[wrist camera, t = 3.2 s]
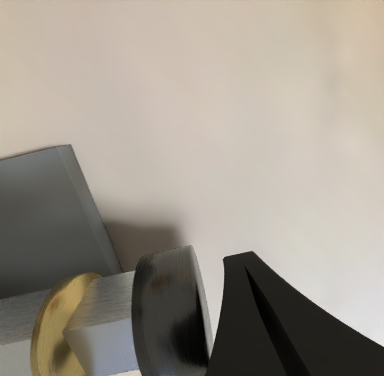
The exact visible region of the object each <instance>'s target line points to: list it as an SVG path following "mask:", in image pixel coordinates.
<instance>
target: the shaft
mask: <svg viewBox="0 0 384 376" xmlns="http://www.w3.org/2000/svg"><path fill="white" fill-rule="evenodd" d="M212 349H213V338H212V330H211V324H210V318H209V312H208V306H207V301H206V296H205V291H204V286H203V281H202V277H201V273H200V269H199V265H198V261H197V258H196V254H195V252H194V249H193V247H192V246H191V245H189V246H184V247H180V248H175V249H171V250H166V251H162V252H157V253H153V254H148V255H144V256H143V257H142V258H141V259H140V260H139V262H138V264H137V267H136V270H134V271H130V272H125V273H121V274H116V275H111V276H107V277H102V276H100V275H99V274H97V273H94V272H89V273H84V274H80V275H75V276H71V277H67V278H65V279H63V280H62V281H60V282H59V283H58V284H57V285H55V287H54V288H52V289H47V290H43V291H38V292H33V293H29V294H24V295H20V296H15V297H10V298H6V299H1V300H0V376H108V375H113V374H118V373H123V372H128V371H133V370H138V369H140V372H141V375H142V376H205V374H206V371H207V367H208V363H209V360H210V356H211V353H212Z"/></svg>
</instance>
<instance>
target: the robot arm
mask: <svg viewBox="0 0 384 376" xmlns="http://www.w3.org/2000/svg"><path fill="white" fill-rule="evenodd" d="M223 263H224V289H223V299H222V306H221V312H220V318H219V323H218V328H217V333H216V337H215V341H214V345H213V349H212V353H211V356H210V360H209V363H208V367H207V371H206V374H205V376H384V347H383V346H381V345H379V344H378V343H376V342H374V341H372V340H371V339H369V338H367V337H365V336H364V335H362V334H360V333H359V332H357V331H356V330H354V329H352V328H351V327H349V326H348V325H346V324H344V323H343V322H341V321H340V320H338V319H337V318H335V317H334V316H332V315H331V314H329V313H328V312H326V311H325V310H323V309H322V308H320V307H319V306H318V305H316V304H315V303H313V302H312V301H311V300H309V299H308V298H307V297H305V296H304V295H303V294H301V293H300V292H299V291H297V290H296V289H295V288H294V287H292V286H291V285H290V284H289V283H287V282H286V281H285V280H284V279H283V278H281V277H280V276H279V275H278V274H277V273H276V272H274V271H273V270H272V269H271V268H270V267H269V266H268V265H267V264H266V263H265V262H263V261H262V260H261V259H260V258H259V257H258V256H257V255H256V254H255V253H254V252H253V251H250V252H245V253H240V254H236V255H231V256H227V257H224V259H223Z"/></svg>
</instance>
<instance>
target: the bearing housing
mask: <svg viewBox="0 0 384 376" xmlns="http://www.w3.org/2000/svg"><path fill="white" fill-rule="evenodd" d="M89 272H94V273H97V274H99V275H100V276H102V277H107V276H111V275H116V274H121V273H123V271H122V268H121V266H120V263H119V261H118V258H117V256H116V254H115V251H114V249H113V246H112V244H111V241H110V239H109V236H108V234H107V232H106V229H105V227H104V224H103V222H102V219H101V217H100V215H99V212H98V210H97V207H96V205H95V202H94V200H93V197H92V195H91V193H90V190H89V188H88V185H87V183H86V180H85V178H84V176H83V173H82V171H81V168H80V166H79V163H78V161H77V158H76V156H75V154H74V151H73V149H72V146H71V144H70V145H65V146H59V147H55V148H51V149H46V150H42V151H38V152H34V153H30V154H26V155H22V156H18V157H14V158H10V159H5V160H1V161H0V300H1V299H6V298H10V297H15V296H20V295H24V294H29V293H33V292H38V291H43V290H47V289H52V288H54V287H55V285H57V284H58V283H59V282H60V281H62V280H63V279H65V278H67V277H71V276H75V275H80V274H84V273H89Z"/></svg>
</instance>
